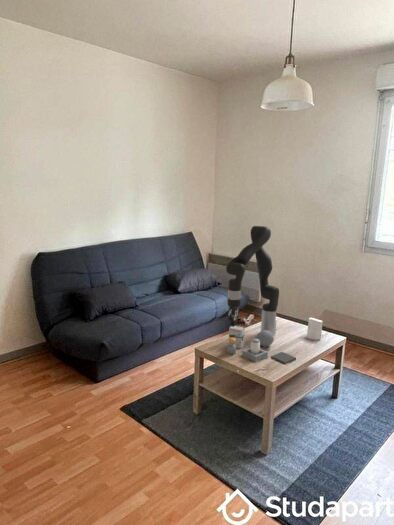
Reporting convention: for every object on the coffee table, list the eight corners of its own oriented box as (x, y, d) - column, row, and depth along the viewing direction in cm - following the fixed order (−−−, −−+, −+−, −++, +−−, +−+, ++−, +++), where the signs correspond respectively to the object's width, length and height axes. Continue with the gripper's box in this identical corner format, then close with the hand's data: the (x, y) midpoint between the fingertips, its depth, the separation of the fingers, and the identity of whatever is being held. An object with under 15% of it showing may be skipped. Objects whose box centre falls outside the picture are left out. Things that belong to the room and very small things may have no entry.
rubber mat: (281, 353, 229) (281, 351, 229) (295, 359, 222) (296, 357, 222) (270, 357, 223) (271, 356, 223) (285, 364, 216) (285, 362, 215)
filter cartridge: (254, 353, 228) (255, 337, 226) (260, 356, 224) (262, 340, 222) (248, 355, 225) (249, 339, 223) (255, 358, 221) (256, 342, 219)
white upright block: (304, 336, 256) (305, 319, 254) (311, 333, 262) (313, 316, 260) (316, 340, 250) (318, 323, 247) (323, 337, 256) (325, 320, 253)
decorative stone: (272, 350, 233) (273, 334, 231) (255, 348, 235) (256, 332, 233) (273, 343, 243) (274, 328, 241) (257, 341, 245) (258, 326, 243)
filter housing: (243, 346, 238) (244, 338, 237) (267, 356, 224) (268, 348, 223) (225, 352, 228) (225, 344, 227) (249, 364, 214) (249, 355, 213)
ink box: (227, 345, 238) (228, 327, 236) (231, 342, 242) (232, 324, 240) (240, 348, 234) (242, 330, 232) (243, 345, 238) (245, 327, 236)
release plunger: (231, 340, 229) (232, 336, 228) (236, 343, 226) (237, 339, 225) (227, 342, 226) (227, 338, 226) (232, 344, 223) (232, 340, 223)
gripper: (233, 293, 228) (231, 321, 231) (223, 299, 216) (222, 328, 220) (245, 295, 224) (243, 323, 228) (235, 301, 213) (234, 331, 217)
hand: (232, 326), depth 224 cm, fingers closed
